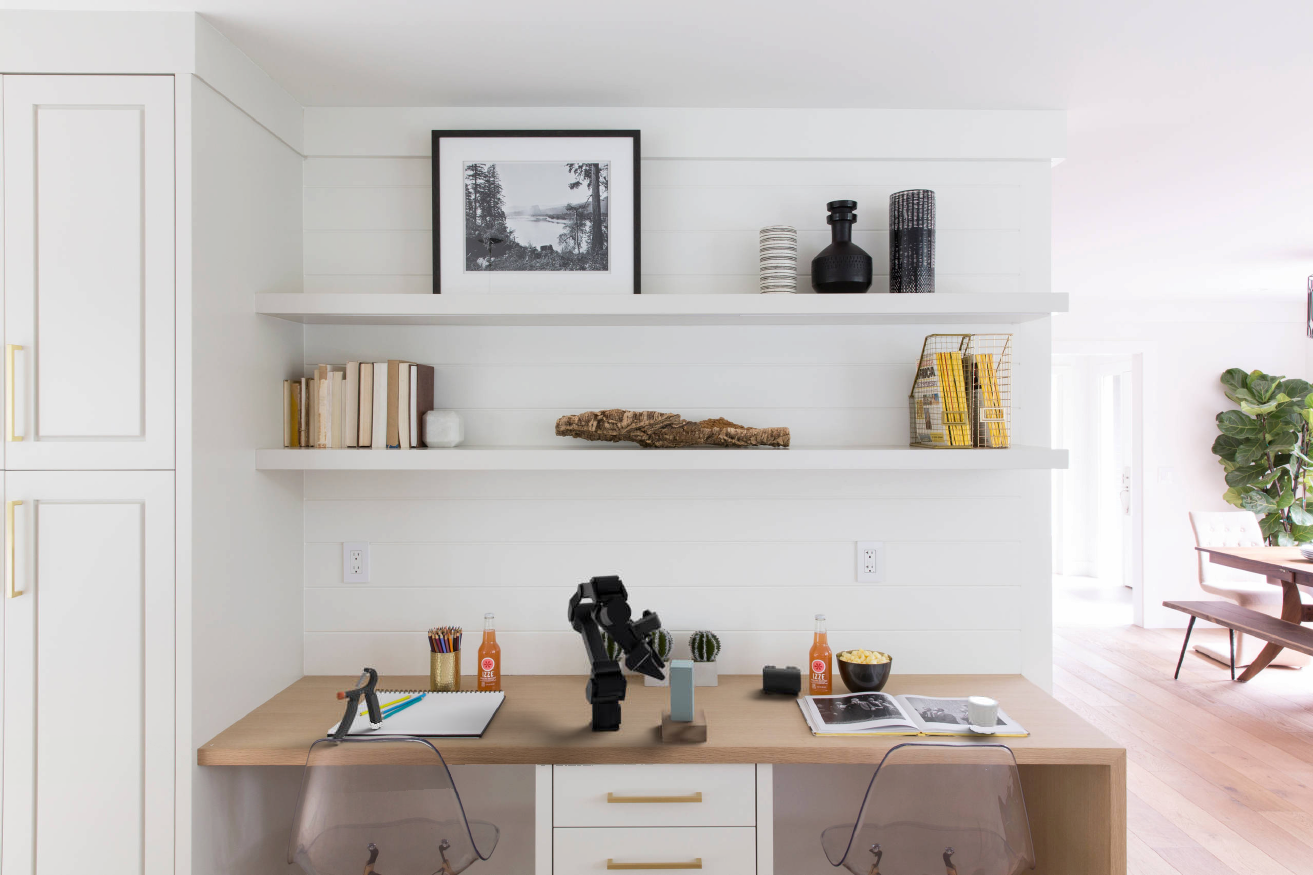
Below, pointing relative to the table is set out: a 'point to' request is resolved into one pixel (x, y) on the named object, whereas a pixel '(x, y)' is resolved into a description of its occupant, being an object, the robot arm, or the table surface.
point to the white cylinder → (982, 711)
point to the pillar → (682, 690)
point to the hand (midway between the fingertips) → (664, 673)
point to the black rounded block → (781, 680)
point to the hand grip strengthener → (354, 700)
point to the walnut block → (684, 727)
